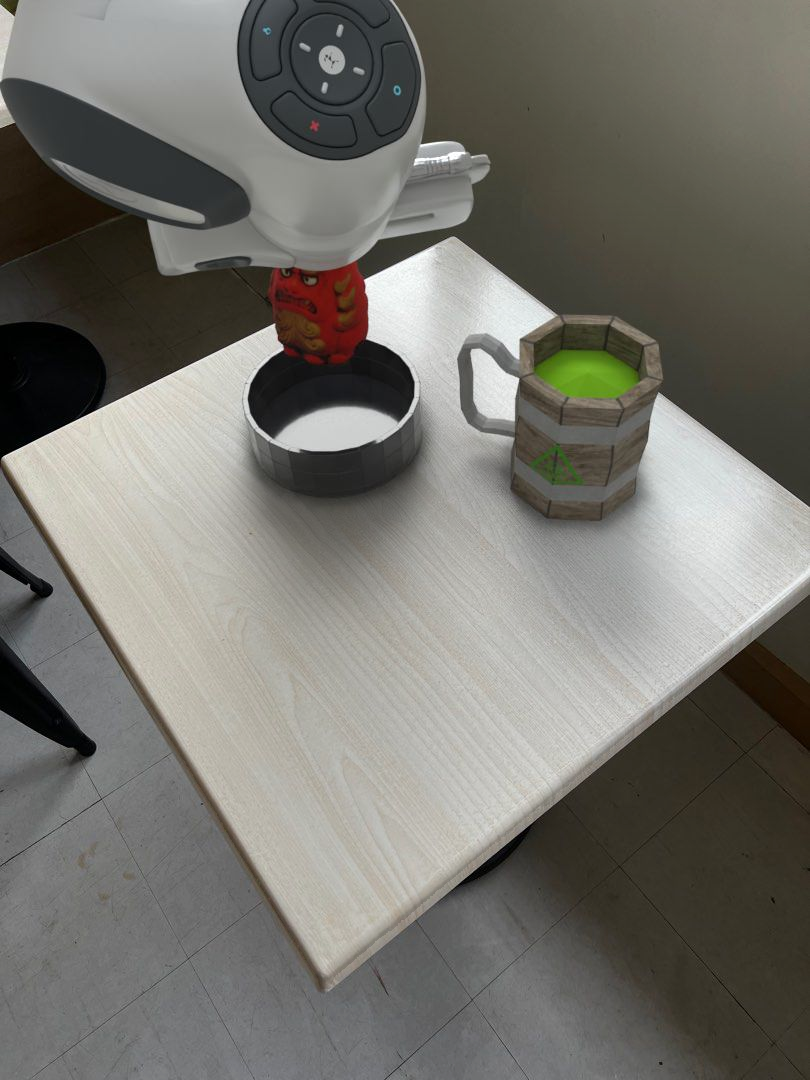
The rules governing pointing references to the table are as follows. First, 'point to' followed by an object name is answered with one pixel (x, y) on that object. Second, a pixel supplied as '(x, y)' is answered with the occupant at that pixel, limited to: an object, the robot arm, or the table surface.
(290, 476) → the pan
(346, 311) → the red clay folk toy
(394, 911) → the table surface
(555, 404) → the mug
